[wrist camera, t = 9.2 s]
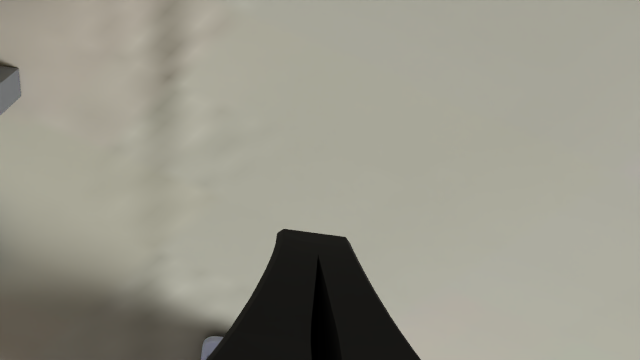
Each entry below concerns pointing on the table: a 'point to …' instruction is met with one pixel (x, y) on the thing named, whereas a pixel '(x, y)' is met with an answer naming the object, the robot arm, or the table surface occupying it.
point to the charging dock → (9, 87)
